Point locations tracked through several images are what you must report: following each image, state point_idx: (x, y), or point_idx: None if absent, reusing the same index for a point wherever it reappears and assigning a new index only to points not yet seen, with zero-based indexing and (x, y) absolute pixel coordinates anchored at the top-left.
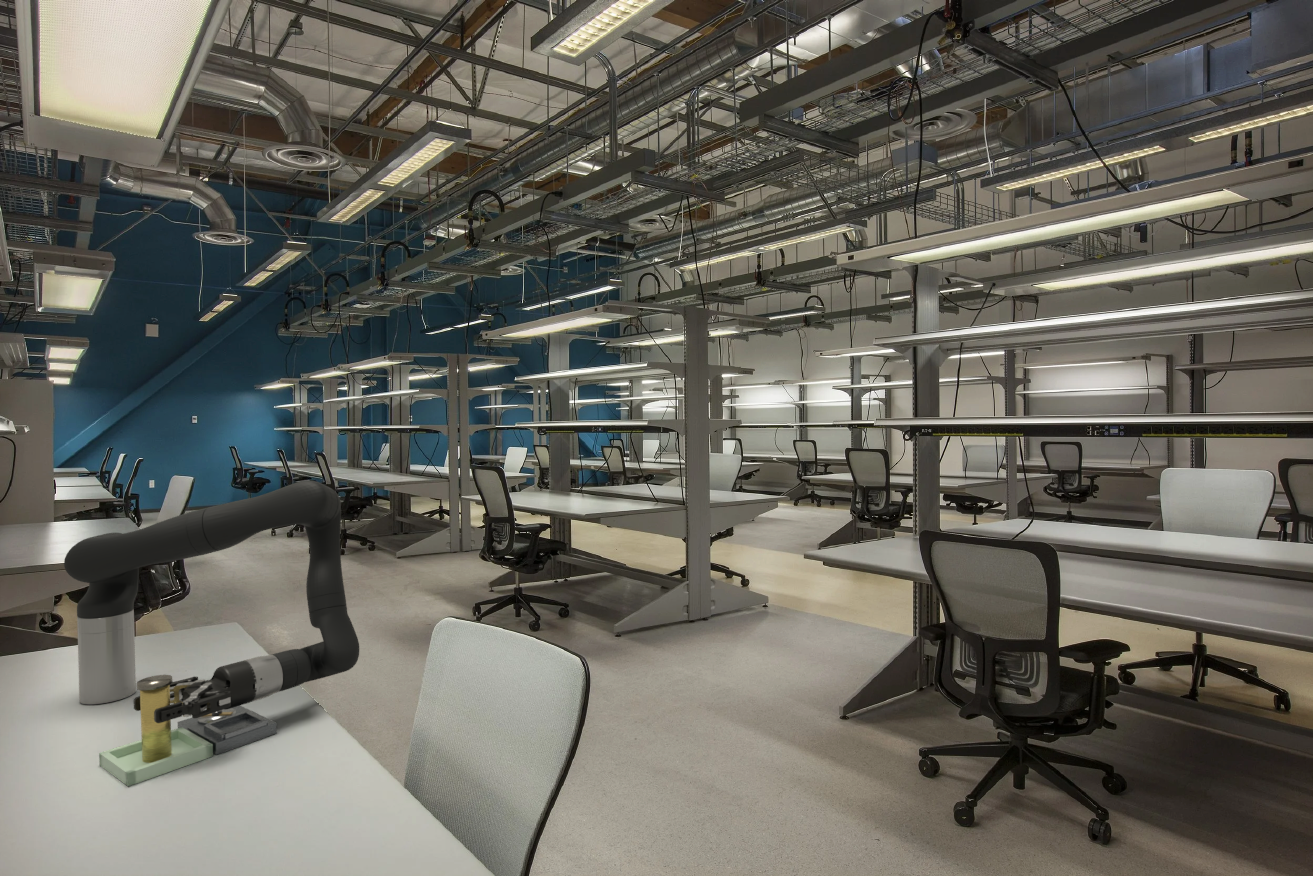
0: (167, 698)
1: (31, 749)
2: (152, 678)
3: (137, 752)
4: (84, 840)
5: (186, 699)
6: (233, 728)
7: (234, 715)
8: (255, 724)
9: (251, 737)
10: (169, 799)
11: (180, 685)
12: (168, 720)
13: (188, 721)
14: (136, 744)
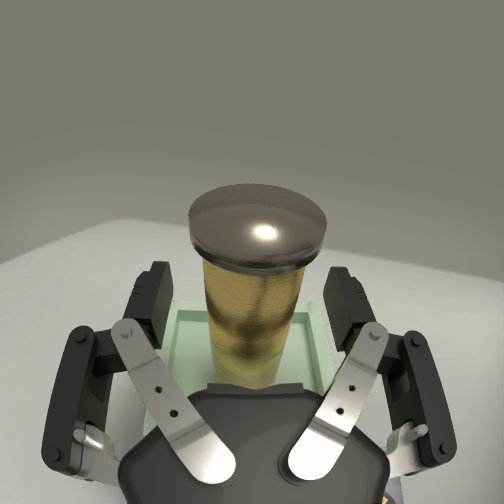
0: (211, 296)
1: (437, 281)
2: (290, 213)
3: (306, 363)
4: (94, 249)
5: (143, 337)
6: None
7: None
8: None
9: None
10: (74, 326)
11: (339, 374)
12: (216, 349)
13: None
14: (316, 354)
